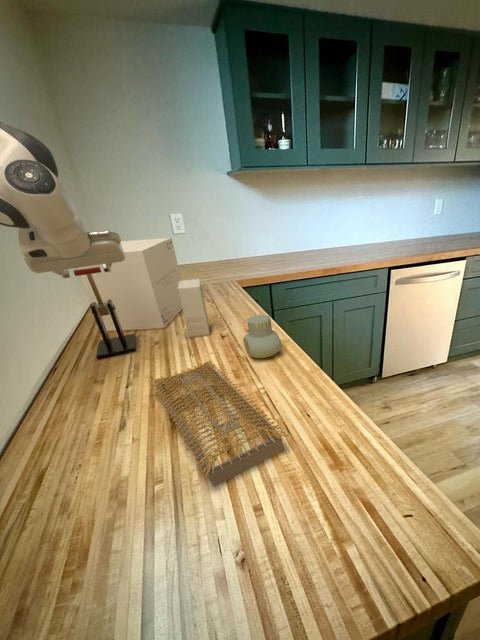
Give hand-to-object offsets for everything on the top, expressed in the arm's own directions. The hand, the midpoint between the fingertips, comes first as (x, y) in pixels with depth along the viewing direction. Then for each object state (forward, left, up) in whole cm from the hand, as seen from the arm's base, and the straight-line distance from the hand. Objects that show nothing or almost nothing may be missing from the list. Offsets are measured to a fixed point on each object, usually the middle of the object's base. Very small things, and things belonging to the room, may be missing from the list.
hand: (87, 272), depth 86 cm
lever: (0, +1, -6) cm, 6 cm away
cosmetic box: (+24, +6, -23) cm, 33 cm away
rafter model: (+27, -42, -23) cm, 55 cm away
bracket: (0, +3, -23) cm, 23 cm away
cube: (+5, +29, -23) cm, 37 cm away
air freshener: (+41, -17, -23) cm, 50 cm away
